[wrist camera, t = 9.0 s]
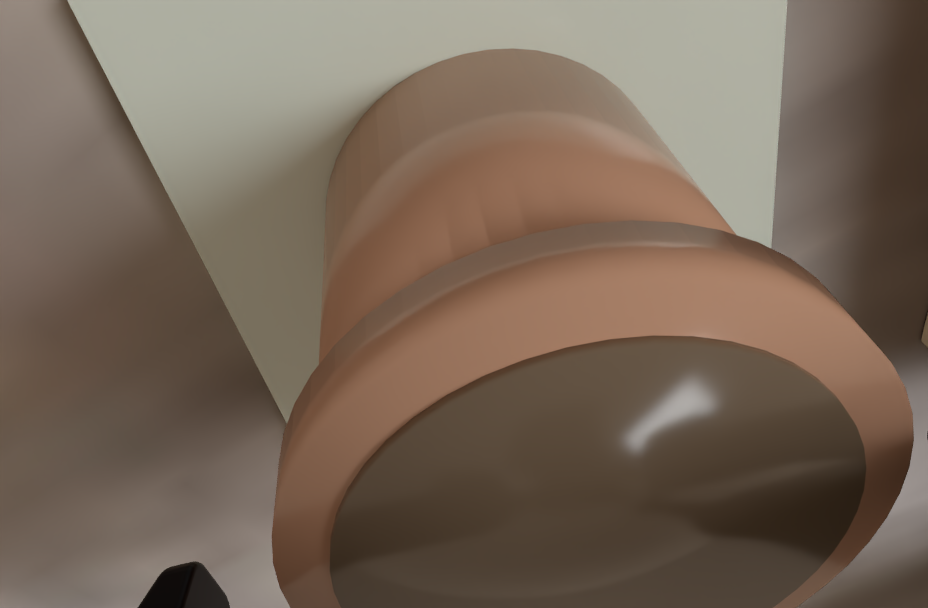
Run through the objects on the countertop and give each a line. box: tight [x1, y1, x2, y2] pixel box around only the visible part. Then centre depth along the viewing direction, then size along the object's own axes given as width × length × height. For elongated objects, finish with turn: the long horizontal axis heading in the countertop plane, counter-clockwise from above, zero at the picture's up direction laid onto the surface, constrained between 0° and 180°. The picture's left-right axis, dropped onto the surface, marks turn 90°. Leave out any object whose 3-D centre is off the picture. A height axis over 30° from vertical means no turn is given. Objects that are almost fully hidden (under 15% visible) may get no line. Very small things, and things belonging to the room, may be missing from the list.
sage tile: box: [67, 0, 787, 423], centre depth 14 cm, size 11×11×1 cm
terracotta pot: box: [272, 48, 914, 608], centre depth 11 cm, size 7×7×7 cm
